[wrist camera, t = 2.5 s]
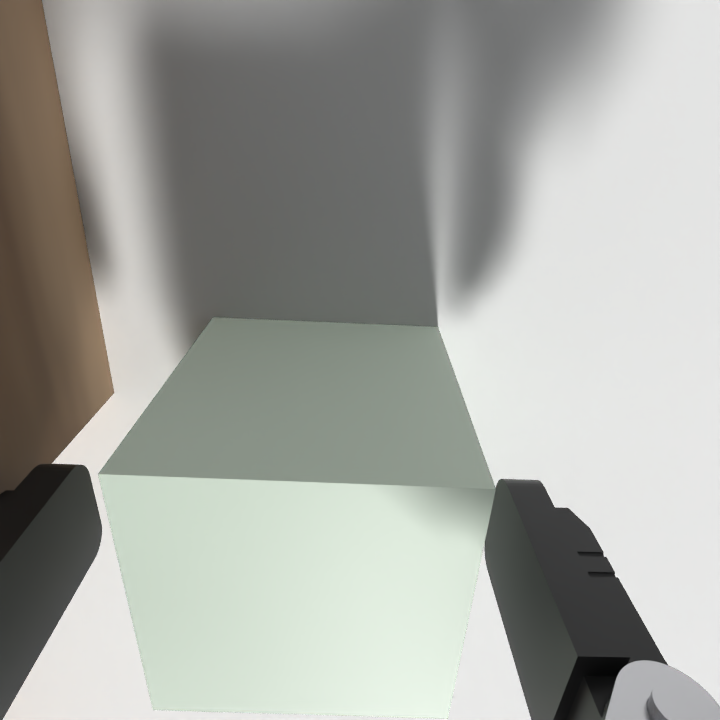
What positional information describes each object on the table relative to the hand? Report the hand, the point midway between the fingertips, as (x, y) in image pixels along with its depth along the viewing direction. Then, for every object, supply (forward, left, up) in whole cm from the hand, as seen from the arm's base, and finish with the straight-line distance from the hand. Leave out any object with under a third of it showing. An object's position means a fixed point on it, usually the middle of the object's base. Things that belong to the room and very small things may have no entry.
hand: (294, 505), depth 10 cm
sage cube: (0, 0, -4) cm, 4 cm away
